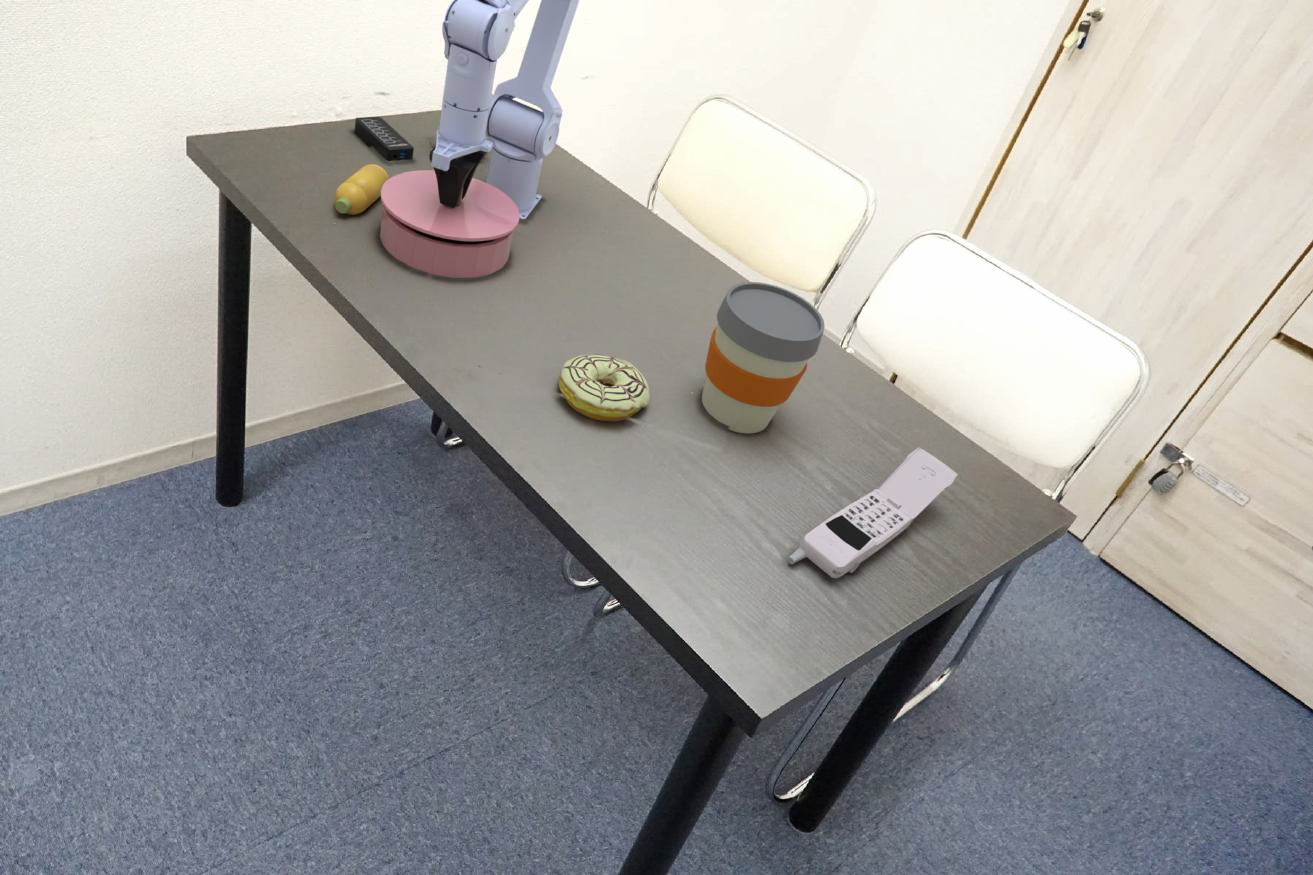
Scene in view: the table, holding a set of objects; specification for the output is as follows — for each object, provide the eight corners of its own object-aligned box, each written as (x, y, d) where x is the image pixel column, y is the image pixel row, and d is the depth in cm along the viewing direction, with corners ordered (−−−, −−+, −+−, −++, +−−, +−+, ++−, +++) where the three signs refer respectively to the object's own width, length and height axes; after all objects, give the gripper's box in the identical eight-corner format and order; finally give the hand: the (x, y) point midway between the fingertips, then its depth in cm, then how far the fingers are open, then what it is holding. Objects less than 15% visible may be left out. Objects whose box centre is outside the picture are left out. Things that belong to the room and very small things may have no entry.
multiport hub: (379, 129, 153) (380, 116, 152) (413, 162, 148) (415, 148, 146) (353, 131, 150) (354, 117, 149) (387, 164, 145) (388, 149, 144)
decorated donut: (661, 415, 114) (670, 390, 112) (592, 437, 108) (600, 412, 105) (608, 365, 119) (616, 340, 117) (539, 383, 113) (546, 358, 110)
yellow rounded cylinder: (360, 178, 138) (370, 153, 135) (388, 195, 139) (398, 171, 136) (321, 211, 128) (331, 185, 126) (350, 229, 129) (361, 203, 126)
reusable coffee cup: (717, 448, 112) (759, 345, 103) (670, 382, 120) (705, 281, 111) (801, 437, 119) (847, 339, 109) (751, 376, 126) (790, 279, 117)
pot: (410, 203, 138) (414, 170, 135) (523, 241, 138) (529, 209, 135) (358, 253, 124) (361, 218, 121) (483, 295, 124) (490, 261, 121)
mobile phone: (961, 473, 111) (845, 555, 94) (939, 510, 115) (824, 595, 98) (919, 444, 114) (799, 518, 97) (899, 480, 117) (780, 558, 100)
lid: (412, 164, 135) (416, 131, 132) (534, 206, 135) (541, 174, 132) (356, 214, 120) (359, 178, 117) (493, 261, 120) (499, 226, 117)
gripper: (477, 130, 113) (461, 232, 121) (514, 95, 124) (498, 190, 132) (420, 111, 113) (408, 214, 121) (463, 77, 124) (449, 173, 132)
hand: (452, 200), depth 127 cm, fingers closed on lid, 2 cm apart
